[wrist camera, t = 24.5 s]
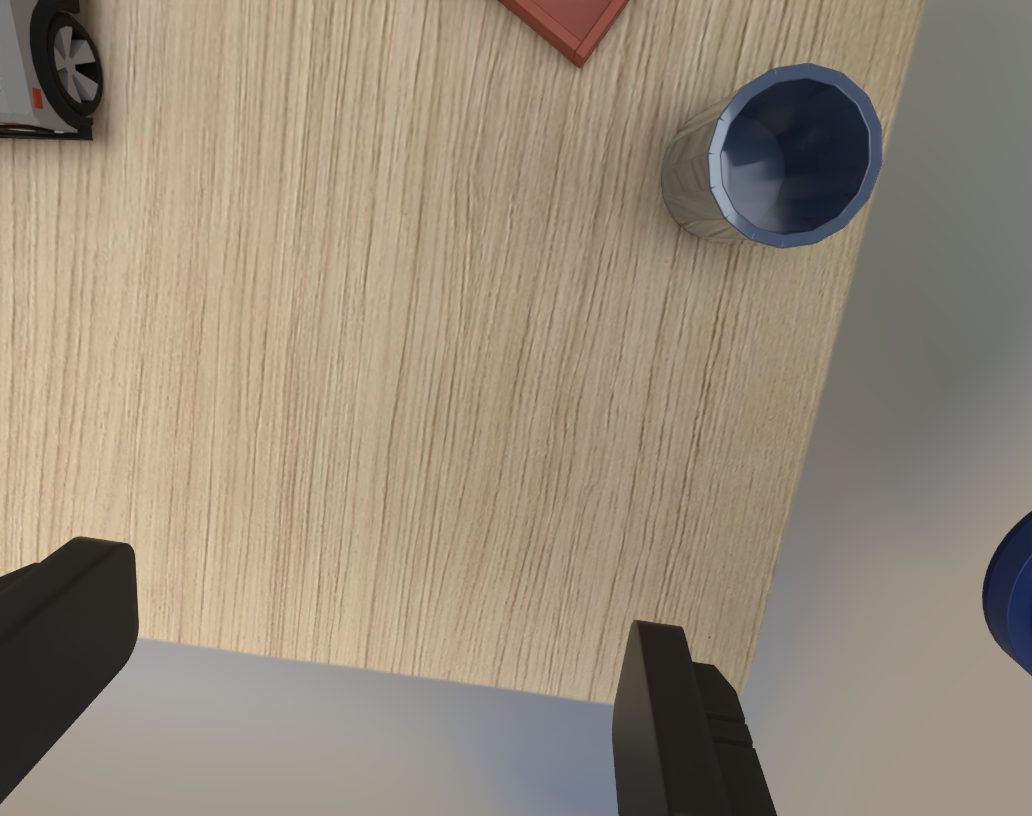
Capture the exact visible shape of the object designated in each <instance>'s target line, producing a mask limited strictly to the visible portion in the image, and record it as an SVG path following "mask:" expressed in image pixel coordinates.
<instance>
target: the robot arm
mask: <svg viewBox="0 0 1032 816" xmlns="http://www.w3.org/2000/svg"><path fill="white" fill-rule="evenodd" d="M138 630H139V619H138V600H137V582H136V563H135V554H134V550H133V548H132V547H131V546H130V545H129V544H128V543H122V542H115V541H108V540H102V539H95V538H88V537H76V538H73V539H72V540H70V541H69V542H67V543H66V544H65V545H63V546H62V547H60V548H59V549H58V550H56V551H55V552H54V553H52V554H51V555H50V556H48V557H47V558H46V559H44V560H43V561H41V562H40V563H33V564H30V565H28V566H25V567H23V568H21V569H18V570H16V571H14V572H11V573H9V574H6V575H4V576H2V577H0V804H1V803H2V802H3V800H4V799H5V798H6V797H7V796H8V795H9V794H10V793H11V792H12V791H13V789H14V788H15V787H16V786H17V785H18V784H19V783H20V782H21V781H22V779H23V778H24V777H25V776H26V775H27V774H28V773H29V771H31V769H32V768H33V767H34V766H35V765H36V764H37V763H38V762H39V761H40V759H41V758H42V757H43V756H44V755H45V754H46V752H48V750H49V749H50V748H51V747H52V746H53V745H54V744H55V743H56V742H57V740H58V739H59V738H60V737H61V736H62V735H63V734H64V733H65V732H66V730H67V729H68V728H69V727H70V726H71V725H72V724H73V723H74V722H75V720H76V719H77V718H78V717H79V716H80V715H81V714H82V713H83V712H84V710H85V709H86V708H87V707H88V706H89V705H90V704H91V703H92V701H93V700H94V699H95V698H96V697H97V696H98V695H99V693H101V691H102V690H103V689H104V688H105V687H106V686H107V685H108V684H109V683H110V681H111V680H112V679H113V678H114V677H115V676H116V675H117V674H118V673H119V671H120V670H121V669H122V668H123V667H124V666H125V664H126V663H127V661H128V660H129V658H130V656H131V654H132V652H133V649H134V647H135V644H136V640H137V636H138ZM612 743H613V755H614V767H615V779H616V790H617V802H618V814H619V816H777V814H776V811H775V808H774V805H773V802H772V799H771V796H770V793H769V790H768V787H767V784H766V781H765V778H764V775H763V771H762V769H761V765H760V763H759V760H758V756H757V754H756V750H755V748H753V746H752V744H753V742H752V738H751V735H750V732H749V730H748V726H747V724H745V717H744V714H743V712H742V708H741V705H740V702H739V699H738V696H737V693H736V691H735V690H734V688H733V687H732V686H731V685H730V684H729V682H728V681H727V680H726V679H725V678H724V676H723V675H722V674H721V673H720V672H719V670H718V669H717V668H716V667H715V666H714V665H710V664H703V663H696V662H692V659H691V656H690V652H689V648H688V644H687V640H686V637H685V633H684V630H683V628H682V627H681V626H674V625H668V624H661V623H654V622H647V621H641V620H634V621H633V623H632V625H631V628H630V632H629V637H628V641H627V646H626V651H625V656H624V660H623V665H622V670H621V675H620V679H619V684H618V689H617V693H616V698H615V704H614V712H613V726H612Z"/></svg>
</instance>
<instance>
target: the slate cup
mask: <svg viewBox="0 0 1032 816" xmlns="http://www.w3.org/2000/svg"><path fill="white" fill-rule="evenodd" d="M881 166H882V128H881V124H880V122H879V119H878V117H877V115H876V112H875V110H874V108H873V105H872V103H871V101H870V98H869V97H868V96H867V94H866V93H865V92H864V91H863V90H862V89H860V88H859V87H858V86H857V85H856V84H855V83H854V82H853V81H851V80H850V79H849V78H848V77H847V76H846V75H845V74H843V73H842V72H839V71H836V70H832V69H829V68H825V67H822V66H819V65H815V64H812V63H804V64H797V65H791V66H784V67H778V68H774V69H771V70H769V71H768V72H766V73H764V74H763V75H761V76H759V77H758V78H756V79H755V80H753V81H751V82H750V83H748V84H746V85H745V86H743V87H741V88H740V89H738V90H737V91H735V92H733V93H732V94H730V95H729V96H727V97H725V98H724V99H722V100H721V101H719V102H718V103H716V104H714V105H713V106H711V107H710V108H708V109H706V110H705V111H703V112H702V113H700V114H698V115H697V116H695V117H694V118H692V119H690V120H689V121H688V122H687V123H686V124H685V125H684V126H683V127H682V128H681V129H680V130H679V132H678V133H677V134H676V135H675V137H674V138H673V140H672V141H671V143H670V145H669V147H668V149H667V152H666V154H665V157H664V161H663V165H662V172H661V187H662V193H663V197H664V200H665V203H666V205H667V208H668V210H669V212H670V213H671V215H672V217H673V218H674V219H675V220H676V221H677V223H678V224H679V225H680V226H681V227H683V228H684V229H685V230H686V231H688V232H689V233H691V234H693V235H695V236H697V237H699V238H702V239H705V240H710V241H714V242H718V243H727V244H738V245H748V246H759V247H770V248H782V249H783V248H790V247H797V246H805V245H812V244H814V243H818V242H819V241H821V240H823V239H825V238H826V237H828V236H830V235H832V234H833V233H835V232H837V231H839V230H841V229H842V228H844V227H845V226H846V225H847V224H848V223H849V222H850V221H851V220H852V219H853V217H854V216H855V215H856V214H857V213H858V211H859V210H860V209H861V208H862V207H863V206H864V204H865V203H866V202H867V201H868V199H869V198H870V196H871V193H872V191H873V188H874V185H875V183H876V180H877V177H878V175H879V172H880V169H881Z"/></svg>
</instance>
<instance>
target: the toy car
mask: <svg viewBox="0 0 1032 816" xmlns="http://www.w3.org/2000/svg"><path fill="white" fill-rule="evenodd" d="M59 9H64V10H66V11H69V12H71V13H80V7H79V0H0V138H17V139H54V140H92V141H93V137H92V128H91V126H92V125H93V118H85V116H88V115H91V114H92V113H93V112H94V111H95V110H96V108H97V106H98V104H99V103H100V100H101V96H102V90H103V78H102V69H101V65H100V60H99V57H98V54H97V51H96V49H95V46H94V44H93V42H92V40H91V38H90V37H89V35H88V33H87V32H86V31H85V29H84V28H83V27H82V26H81V25H80V24H79V23H78V22H77V21H76V20H75V19H74V18H73V17H72V16H70V15H68V14H66V13H63V12H56V11H58V10H59ZM82 116H84V117H82Z"/></svg>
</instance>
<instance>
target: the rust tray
mask: <svg viewBox="0 0 1032 816" xmlns="http://www.w3.org/2000/svg"><path fill="white" fill-rule="evenodd" d="M499 1H500V2H501V3H502V4H504V5H505V6H506V7H507V8H508V9H510V10H511V11H512V12H513V13H514V14H516V15H517V16H518V17H519V18H520V19H522V20H523V21H524V22H525V23H526V24H528V25H529V26H530V27H531V28H532V29H534V30H535V31H536V32H537V33H538V34H540V35H541V36H542V37H543V38H544V39H546V40H547V41H548V42H549V43H550V44H552V45H553V46H554V47H555V48H556V49H558V50H559V51H560V52H561V53H562V54H564V55H565V56H566V57H567V58H568V59H569V60H571V61H572V62H573V63H574V64H575V65H577V66H578V67H579V68H581V67H582V66H583V65H584V63H585V62H586V60H587V59H588V58H589V56H590V55H591V53H592V52H593V51H594V49H595V48H596V46H597V45H598V44H599V42H600V41H601V39H602V38H603V37H604V35H605V34H606V32H607V31H608V30H609V28H610V27H611V25H612V24H613V23H614V21H615V20H616V18H617V17H618V16H619V14H620V13H621V11H622V10H623V9H624V7H625V6H626V4H627V3H628V2H629V0H499Z"/></svg>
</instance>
